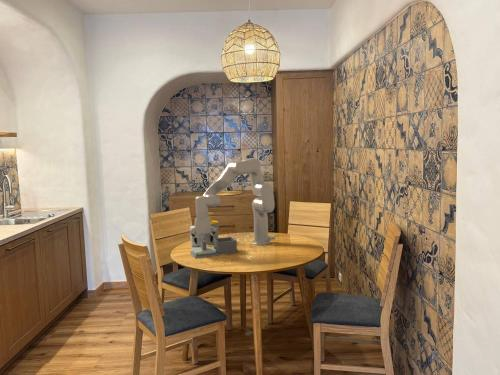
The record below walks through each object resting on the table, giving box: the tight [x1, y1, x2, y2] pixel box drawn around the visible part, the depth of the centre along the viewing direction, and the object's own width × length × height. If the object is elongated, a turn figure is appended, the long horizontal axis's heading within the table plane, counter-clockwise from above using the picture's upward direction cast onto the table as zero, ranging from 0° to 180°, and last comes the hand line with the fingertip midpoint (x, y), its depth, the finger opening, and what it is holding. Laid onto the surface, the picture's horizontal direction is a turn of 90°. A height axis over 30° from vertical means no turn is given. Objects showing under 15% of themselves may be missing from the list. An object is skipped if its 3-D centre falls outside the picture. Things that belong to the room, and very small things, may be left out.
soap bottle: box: [205, 212, 220, 245], centre depth 296 cm, size 13×13×21 cm
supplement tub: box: [189, 225, 205, 249], centre depth 281 cm, size 10×10×15 cm
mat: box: [190, 250, 218, 259], centre depth 265 cm, size 14×14×1 cm
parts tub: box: [213, 236, 238, 256], centre depth 269 cm, size 12×12×8 cm
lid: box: [191, 240, 216, 255], centre depth 264 cm, size 13×13×7 cm
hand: (203, 242), depth 264 cm, fingers open, 9 cm apart
